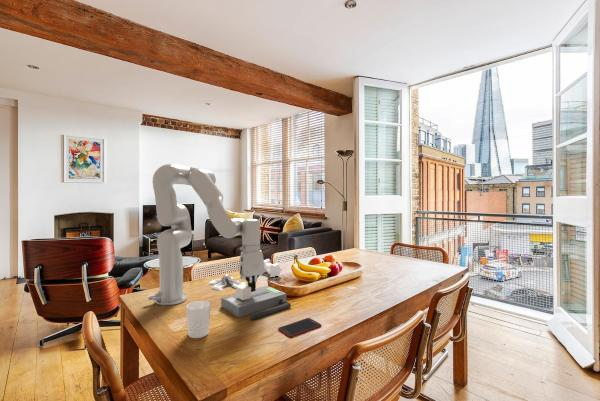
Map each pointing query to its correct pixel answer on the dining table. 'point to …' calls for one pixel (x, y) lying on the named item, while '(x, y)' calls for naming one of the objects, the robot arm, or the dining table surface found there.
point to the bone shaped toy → (271, 268)
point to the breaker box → (253, 301)
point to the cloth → (225, 283)
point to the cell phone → (299, 327)
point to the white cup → (198, 318)
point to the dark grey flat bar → (271, 310)
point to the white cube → (243, 292)
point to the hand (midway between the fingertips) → (251, 290)
